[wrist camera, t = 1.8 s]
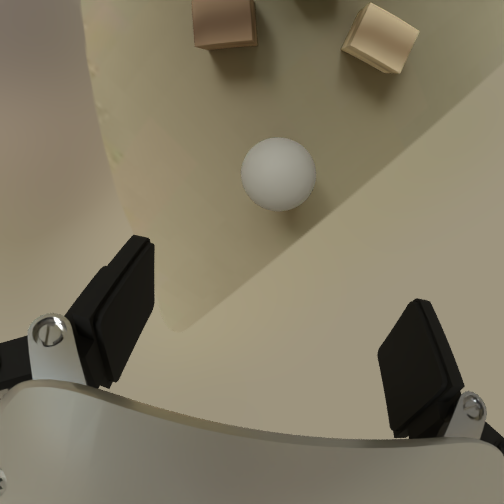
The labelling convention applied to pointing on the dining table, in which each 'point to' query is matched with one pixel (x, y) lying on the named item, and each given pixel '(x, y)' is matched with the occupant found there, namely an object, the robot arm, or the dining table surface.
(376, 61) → the beech cube
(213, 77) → the dining table surface
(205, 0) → the walnut cube
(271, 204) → the lightbulb
